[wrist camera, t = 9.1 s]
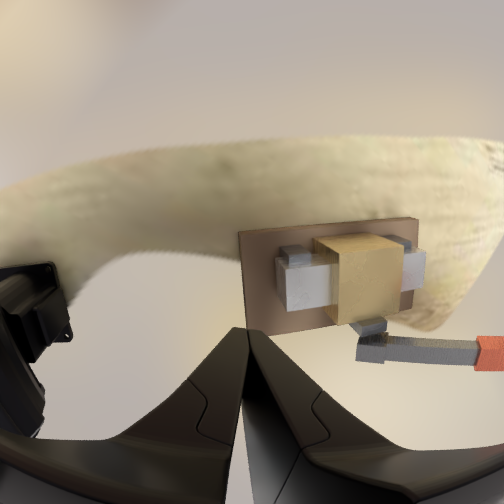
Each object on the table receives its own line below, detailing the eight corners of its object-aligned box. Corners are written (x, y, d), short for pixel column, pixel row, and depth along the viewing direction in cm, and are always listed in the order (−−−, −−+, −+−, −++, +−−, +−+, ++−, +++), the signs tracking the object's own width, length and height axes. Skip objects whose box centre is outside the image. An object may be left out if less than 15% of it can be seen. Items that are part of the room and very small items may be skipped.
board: (246, 331, 23) (249, 338, 22) (238, 231, 22) (240, 235, 20) (404, 303, 25) (411, 308, 24) (410, 217, 23) (418, 219, 22)
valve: (275, 311, 22) (295, 350, 17) (271, 241, 21) (294, 263, 16) (395, 291, 23) (434, 318, 18) (398, 228, 22) (443, 244, 17)
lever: (355, 363, 18) (526, 371, 12) (357, 341, 17) (534, 349, 12) (359, 348, 19) (519, 356, 14) (361, 327, 19) (526, 335, 14)
